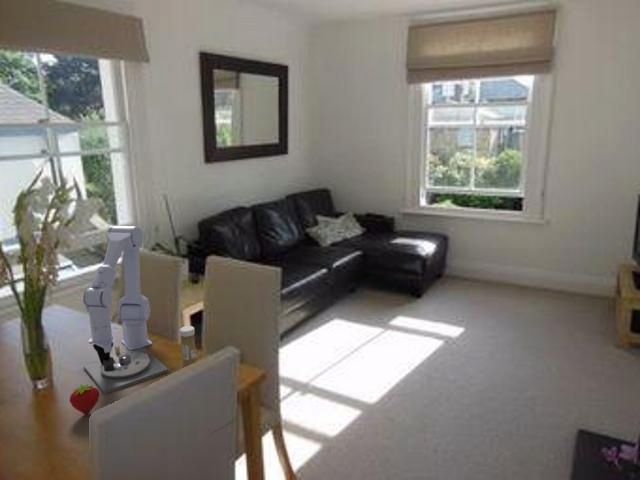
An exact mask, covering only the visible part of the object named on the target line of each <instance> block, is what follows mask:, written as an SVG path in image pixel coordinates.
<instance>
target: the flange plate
mask: <svg viewBox="0 0 640 480" xmlns="http://www.w3.org/2000/svg"><path fill="white" fill-rule="evenodd" d="M130 351H131V352H130ZM130 351H123V352H120V353H119V354H116V353H115V354H113V355H110V357H106V358H104V359H103V364H104V365H103V366H102V364H101V365H100V371H101V374H102V375H103V376H105V377H107V378H113V379H120V378H127V377H131V376H135V375H137V374H140V373H141V372H143V371H145V370H146V369H147V368H148V367H149V365H150V358H149V357H150V353H151V352H150V351H149V352H145V353H143V352H136V351H133V350H130Z"/></svg>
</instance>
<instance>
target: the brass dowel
mask: <svg viewBox="0 0 640 480" xmlns="http://www.w3.org/2000/svg"><path fill="white" fill-rule="evenodd" d="M114 352H115V354H119V353H121V350H120V345H115V346H114Z"/></svg>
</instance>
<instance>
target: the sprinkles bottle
mask: <svg viewBox="0 0 640 480" xmlns="http://www.w3.org/2000/svg"><path fill="white" fill-rule="evenodd" d="M179 334H180V342H181V345H180V346H181V354H182V355H181V357H182V367H183V368H184V367H185V366H188V365H190V364H192V363H195V362H196V363H197V352H196V342H195V341H196V340H195V339H196V338H195V327H194V326H192V325H185V326H183V327H181V328H180V329H179Z"/></svg>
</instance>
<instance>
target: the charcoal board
mask: <svg viewBox="0 0 640 480" xmlns="http://www.w3.org/2000/svg"><path fill="white" fill-rule="evenodd" d="M131 351H136V352H143V353H145V352H150V351H149V350H148V349H147V348H145V346H144V347H141V348H138V349H134V350H129V352H131ZM149 358H150V365H149V367H148V368H147V369H146V370H145V371H143V372H141V373H140V374H137V375H135V376H131V377H127V378H120V379H113V378H107V377H105V376H103V375H102V374H101V371H100V365H101V362H100V360H98V361H94V362H92V363H89V364H86V365H85V364H84V365H83V370H84V371H85V372H86V373H87V374H88V375H89V376H90V378H91V379H92V380H93V382H94V383H95V384H96V385H97V387H98V389H100V391H102V393H103V394H104V395H106V394H109V393H112V392H115V391H118V390H121V389H123V387H124V388H127V387H129V386H132V385H134V384H138V383H141V382H143V380H144V381H146V380H149V379H152V378H155V377H157V376H158V377H159V376H160V375H163V374H165V373H168V372H169V368H168V367H167V366H166V365H165V364H163V362H161V361H160V360H159V359H157V357H156V356H155V355H153V354H152V353H151V352H150V357H149ZM126 386H127V387H126ZM120 388H121V389H120Z"/></svg>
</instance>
